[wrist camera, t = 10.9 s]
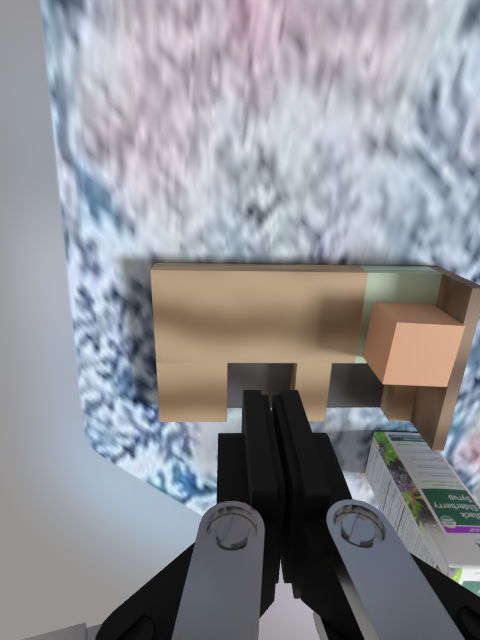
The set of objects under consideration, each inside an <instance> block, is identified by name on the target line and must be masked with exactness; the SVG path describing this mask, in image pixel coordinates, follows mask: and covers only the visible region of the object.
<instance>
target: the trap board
mask: <svg viewBox="0 0 480 640" xmlns="http://www.w3.org/2000/svg"><path fill="white" fill-rule="evenodd" d="M150 272H151V288H152V304H153V319H154V335H155V351H156V367H157V383H158V398H159V414H160V422H227V408H242V402H243V390H261V393H262V394H268V398H269V403H270V408H272V396H273V394H279V390H298V392H299V394H300V397H301V400H302V404H303V407H304V410H305V413H306V416H307V419H308V421H325V416H326V408H327V407H380V408H381V409H382V411H383V412H384V414H385V416H386V417H387V419H388V420H389V421H411V423H412V424H413V425H414V427H415V428H416V429H417V431H418V432H419V434H420V435H421V436H422V438H423V439H424V440H425V442H426V443H427V445H428V446H429V447H430V449H431V450H444V446H445V443H446V439H447V435H448V431H449V428H450V424H451V420H452V416H453V413H454V409H455V405H456V401H457V398H458V394H459V390H460V386H461V382H462V379H463V375H464V371H465V367H466V364H467V360H468V356H469V352H470V349H471V345H472V341H473V337H474V334H475V330H476V326H477V322H478V318H479V315H480V285H478V284H476V283H473V282H471V281H469V280H467V279H465V278H463V277H460V276H458V275H456V274H454V273H452V272H450V271H447V270H445V269H443V268H441V267H439V266H370V265H297V264H223V263H155V264H154V266H153V267H152V268H151V270H150ZM374 302H388V303H406V304H424V305H434V306H436V307H437V308H439V309H440V310H442V311H443V312H445V313H447V314H448V315H450V316H451V317H453V318H454V319H456V320H457V321H459V322H460V323H462V324H463V325H465V329H464V332H463V336H462V339H461V342H460V346H459V349H458V352H457V355H456V359H455V362H454V365H453V369H452V372H451V375H450V378H449V382H448V385H447V387H437V386H414V385H390V384H382V383H381V381H380V380H379V379H378V377H377V376H376V374H375V373H374V372H373V370H372V369H371V368H370V366H369V365H368V363H367V362H366V361H365V359H364V358H363V353H364V348H365V343H366V339H367V334H368V329H369V324H370V319H371V314H372V309H373V305H374Z"/></svg>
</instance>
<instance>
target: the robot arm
mask: <svg viewBox="0 0 480 640" xmlns="http://www.w3.org/2000/svg"><path fill="white" fill-rule="evenodd" d="M280 559H281V566H282V573H283V580H284V583H292V589H293V595H294V598H295V599H298V598H301V600H302V601H303V602H304V603H305V604H306V605H308V606H309V607H310V608H311V609H312V610H313V611H314V612H313V617H314V622H315V626H316V629H317V632H318V634H319V638H320V640H480V597H479V596H478V595H476V594H474V593H473V592H471V591H470V590H468V589H467V588H465V587H463V586H462V585H460V584H459V583H457V582H456V581H454V580H452V579H451V578H449V577H448V576H446V575H445V574H443V573H441V572H440V571H438V570H437V569H435V568H434V567H432V566H430V565H429V564H427V563H426V562H424V561H423V560H421V559H419V558H418V557H416V556H415V555H413V554H411V553H410V552H408V550H407V549H406V547H405V545H404V544H403V542H402V541H401V539H400V538H399V536H398V534H397V533H396V531H395V530H394V528H393V527H392V525H391V524H390V522H389V520H388V519H387V518H386V517H385V516H384V514H383V513H382V512H380V511H379V510H378V509H377V508H375V507H374V506H372V505H370V504H368V503H366V502H363V501H358V500H353V499H352V496H351V494H350V491H349V489H348V486H347V483H346V481H345V478H344V476H343V473H342V470H341V468H340V465H339V463H338V460H337V457H336V455H335V452H334V450H333V447H332V445H331V442H330V439H329V437H328V435H327V434H326V433H312V431H311V428H310V425H309V422H308V419H307V416H306V413H305V410H304V407H303V404H302V400H301V397H300V394H299V392H298V390H279V394H273V396H272V411H271V408H270V403H269V398H268V394H262V393H261V390H243V402H242V433H218V469H217V504H216V505H215V506H213V507H211V508H210V509H209V510H208V511H207V512H206V513H205V514H204V515H203V517H202V520H201V522H200V525H199V529H198V533H197V537H196V541H195V543H193V544H192V545H191V546H190V547H188V548H187V549H186V550H185V551H184V552H183V553H182V554H180V555H179V556H178V557H177V558H176V559H174V560H173V561H172V562H171V563H170V564H169V565H167V566H166V567H165V568H164V569H163V570H162V571H160V572H159V573H158V574H157V575H156V576H154V577H153V578H152V579H151V580H150V581H149V582H147V583H146V584H145V585H144V586H143V587H141V588H140V589H139V590H138V591H137V592H136V593H135V594H133V595H132V596H131V597H130V598H129V599H128V600H126V601H125V602H124V603H123V604H122V605H121V606H119V607H118V608H117V609H116V610H114V611H113V612H112V614H111V615H110V616H109V617H108V618H107V619H106V620H105V621H104V622H103V624H100V625H96V626H92V627H89V628H87V626H86V623H82V624H78V625H75V626H71V627H67V628H63V629H60V630H56V631H52V632H49V633H45V634H41V635H38V636H34V637H30V638H26V639H23V640H258V633H259V619H260V617H261V616H262V615H263V614H264V613H265V611H266V610H267V609H268V608H269V606H270V605H271V604H272V603H273V601H274V596H275V584H276V583H278V580H279V568H280Z"/></svg>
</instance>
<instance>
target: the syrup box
mask: <svg viewBox="0 0 480 640" xmlns="http://www.w3.org/2000/svg"><path fill="white" fill-rule="evenodd" d="M365 475H366V478H367V480H368V482H369V484H370V486H371V488H372V491H373V493H374V495H375V497H376V500H377V502H378V504H379V506H380V509H381V511H382V513H383V514H384V516H385V517H386V518H387V519H388V520H389V522H390V524H391V525H392V527H393V528H394V530H395V531H396V533H397V534H398V536H399V538H400V539H401V541H402V542H403V544H404V545H405V547H406V549H407V550H408V552H410V553H411V554H413V555H415V556H416V557H418V558H419V559H421V560H423V561H424V562H426V563H427V564H429V565H430V566H432V567H434V568H435V569H437V570H438V571H440V572H441V573H443V574H445V575H446V576H448V577H449V578H451V579H452V580H454V581H456V582H457V583H459V584H460V585H462V586H463V587H465V588H467V589H468V590H470V591H471V592H473V593H474V594H476V595H478V596H479V597H480V505H479V504H478V502H477V501H476V500H475V498H474V497H473V496H472V494H471V493H470V492H469V490H468V489H467V488H466V486H465V485H464V484H463V482H462V481H461V480H460V478H459V477H458V476H457V474H456V473H455V472H454V470H453V469H452V468H451V466H450V465H449V463H448V462H447V461H446V459H445V458H444V457H443V455H442V454H441V453H440V451H439V450H431V449H430V447H429V446H428V445H427V443H426V442H425V440H424V439H423V438H422V436H421V435H420V434H419V433H407V432H374V435H373V439H372V444H371V448H370V452H369V457H368V462H367V467H366V472H365Z"/></svg>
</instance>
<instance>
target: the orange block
mask: <svg viewBox="0 0 480 640" xmlns="http://www.w3.org/2000/svg"><path fill="white" fill-rule="evenodd" d="M464 329H465V325H463V324H462V323H460V322H459V321H457V320H456V319H454V318H453V317H451V316H450V315H448V314H447V313H445V312H443V311H442V310H440V309H439V308H437V307H436V306H434V305H424V304H406V303H388V302H374V305H373V309H372V314H371V319H370V324H369V329H368V334H367V339H366V343H365V348H364V353H363V358H364V359H365V361H366V362H367V363H368V365H369V366H370V368H371V369H372V370H373V372H374V373H375V374H376V376H377V377H378V379H379V380H380V381H381V383H382V384H390V385H414V386H437V387H447V385H448V382H449V378H450V375H451V372H452V369H453V365H454V362H455V359H456V355H457V352H458V349H459V346H460V342H461V339H462V336H463V332H464Z"/></svg>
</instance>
